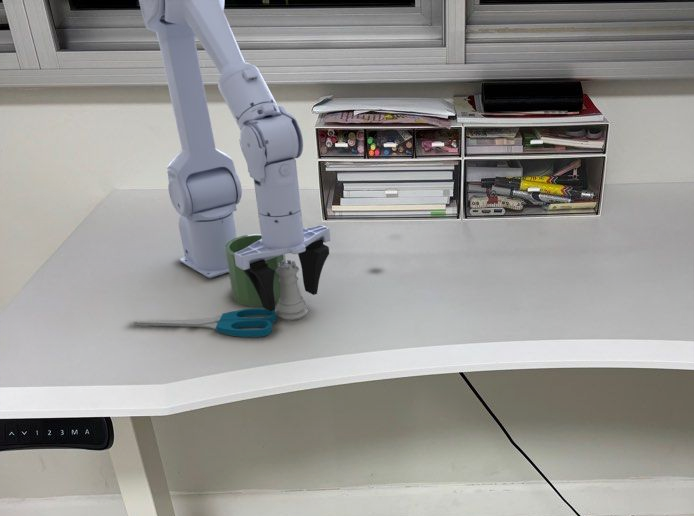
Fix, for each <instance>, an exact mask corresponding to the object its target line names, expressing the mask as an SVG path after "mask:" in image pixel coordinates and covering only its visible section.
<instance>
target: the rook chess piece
mask: <svg viewBox="0 0 694 516" xmlns="http://www.w3.org/2000/svg"><path fill="white" fill-rule="evenodd" d="M299 271H300V268H299V266H298V265H296V261H295V260H291V259H286V263H285V261H284V260H283V261H281V264H280V262H278V267H277V269H276V273H277V274H278V275H279V276H280V278H279V280H278V281H279V282H280V285H281V295H280V298H279V302H277V303H276V310H277V311H276V316H277V317H279V318H280V319H281V320H285V321H291V322H292V321H298V320H301V319H303V318H304V317H305V316H306V315H307V313H308V311H309V310H308V308H307V306H308V305H307V302H306V300H305V299H304V298H303V296H302V295H301V293H300V289H299V284H298V281H299V277H298V276H297V274H298V272H299Z"/></svg>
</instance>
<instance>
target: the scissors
mask: <svg viewBox="0 0 694 516" xmlns="http://www.w3.org/2000/svg"><path fill="white" fill-rule="evenodd" d="M250 316H252V317H250ZM253 316H255V317H253ZM256 316H263V317H256ZM264 316H265V317H264ZM277 317H278V316H277V311H276V309H275V310H274V311H269V310H267V309H265V308H264V307H258V308H257V307H256V308H242V309H237V310H232V311H228V312H224V313H222V314H221V315H219V316H213V317H207V318H192V319H191V318H190V319H189V318H188V319H187V318H186V319H169V320H166V319H165V320H145V321H144V320H141V321H140V320H139V321H133V325H134V326H164V327H165V326H168V327H169V326H171V327H200V328H210V329H214V330H215V331H216V332H217V333H221V334H224V335H228V336H234V337H243V338H244V337H245V338H246V337H247V338H257V337H258V338H259V337H265V336H268V335H270V334H271V333H272V332H273V325H272V324H273V323H275V322H276V321H277V319H278V318H277ZM250 328H251V329H250Z"/></svg>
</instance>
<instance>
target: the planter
mask: <svg viewBox="0 0 694 516" xmlns="http://www.w3.org/2000/svg"><path fill="white" fill-rule="evenodd" d="M260 239H262V237H261V233H253V234H251V233H250V234H246V235H241V236H237V238H234V239H232V240H231V241H229V242H228V243H227V244H226V246H225V253H226V259H227V265H228V271H229V272H228V277H229V282H230V288H231V292H232V298H233V300H234V301H235V302H236V303H237V304H240V305H242V306H245V307H246V306H248V307H263V305H262V303H261V300H260V298H259V295H258V293H257V291H256V289H255V287H254V285H253V284H252V282H251V281H250V279H249V278H248V276H247V275H246V273H245V272H244V271H243V270H242V269H240V268H239V267H237V266H236V263H235V257H234V253H235V252H238V251H241V250H243V249H245V248H246V247H248V246H250V245H252V244H253V243H255V242H257V241H258V240H260ZM283 260H284V261H285V263H287V257H286V254H283V255H280V256H278V257H275V258H272V259H269V260H266V261H265V263H266V264H268V267H269V268H271V269H273V270H274V271H275V274H274V283H273V291H274V299H275V304H277V303H278V302H279V298H280V295H281V285H280V282H279V281H278V280H279V278H280V276H279V275H278V274H277V273H276V269H277V267H278V262H280V264H281V261H283Z"/></svg>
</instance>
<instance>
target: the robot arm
mask: <svg viewBox="0 0 694 516" xmlns="http://www.w3.org/2000/svg"><path fill="white" fill-rule="evenodd" d="M138 3H139V7H140V12H141V16H142V20H143V21H144V27H145V28H146V30H149V31H152V32H155V33H156V36H157V40H158V45H159V49H160V54H161V59H162V63H163V68H164V73H165V76H166V77H165V78H166V83H167V86H168V91H169V96H170V101H171V104H172V106H171V107H172V110H173V115H174V120H175V125H176V129H177V134H178V139H179V143H180V147H181V149H180V152H178V153H177V155H176V156H175V157H174V158H173V159H172V160H171V161H170V162H169V164H168V165H167V166H166V169H167V170H166V174H167V178H168V179H167V180H168V185H167V189H168V195H169V198H170V201H171V204H172V206H173V208H174V210H175V211H176V212H177V213H178V214H179V217H178V229H179V234H180V240H181V244H182V250H183V255H184V256H183V257H181V258H179V262H181V263H182V264H184V265H185V266H187V267H189V268H191V269H192V270H194V271H196V273H197V272H198V273H199V274H201V275H202V276H205V277H206V278H208V279H212V278H215V277H216V278H217V277H218V276H222V275H224V274H227V273H229V271H228V265H227V259H226V253H225V246H226V244H227V243H228V242H229V241H231V240H232V239H234V238H237V237H238V236H237V229H236V224H235V218H234V212H236V211H237V205H239V204H240V203H241V199H242V196H243V195H242V194H243V189H242V188H243V187H242V184H241V181H240V180H241V179H240V177H239V175H238V173H237V170H236V167H235V163H234V160H233V158H231V157H230V156H229V155H228V154H227V153H225V152H223V151H221V150H219V149H217V148H216V142H215V138H214V133H213V128H212V122H211V117H210V112H209V111H210V110H209V106H208V101H207V97H206V90H205V85H204V79H203V73H202V70H201V65H200V59H199V54H198V48H197V43H196V38H197V39H198V41H199V43H200V44H201V46H202V48H203V49H204V51H205V52H206V54H207V55H208V57H209V58H210V59H211V61H212V63H213V65H214V66H215V68H216V70H217V71H218V73H220V76H219V79H218V82H217V88H218V90H219V93H220V94H221V96H222V98H223V100H224V102H225V103H226V105H227V107H228V109H229V111H230V113H231V115H232V117H233V119H234V121H235V122H236V124H237V126H238V128H239V131H240V133H239V140H238V141H239V145H240V149H241V152H242V155H243V157H244V159H245V162H246V167H247V172H248V174H249V177H250V178H252V179H253V184H254V193H255V200H256V207H257V208H256V209H257V214H258V222H259V228H260V234H261V237H262V239H260V240H258V241H257V242H255V243H253V244H252V245H250V246H248V247H246V248H245V249H243V250H241V251H238V252H235V253H234V257H235V263H236V266H237V267H239V268H240V269H242V270H243V271H244V272H245V273H246V275H247V276H248V278H249V279H250V281H251V282H252V284H253V285H254V287H255V289H256V291H257V293H258V295H259V298H260V300H261V303H262V305H263V306H262V308H265V309H267V310H269V311H274V310H275V311H276V303H275V299H274V291H273V283H274V274H275V271H274V270H273V269H271V268H269V267H268V264H266V263H265V261H266V260H269V259H272V258H275V257H278V256H280V255H283V254H285V255H289V254H292V255H297V256H298V259H299V262H300V267H301V274H302V281H303V288H304V290H305V292H307V293H309V294H311V295H313V296H315V295H317V294H318V290H319V284H320V279H321V274H322V271H323V268H324V265H325V263H326V261H327V259H328V257H329V255H330V247H329V246H328V245H326V244H324V243H328V242H331V231H330V228H329V227H327V226H325V225H323V224H319V225H314V226H310V227H309V226H308V227H304V225H303V215H302V206H301V196H300V186H299V177H298V169H297V168H298V167H297V160H296V159H299V158H300V157H301V155H302V154H303V150H304V139H303V133H302V130H301V127H300V125H299V122H298V120H297V119H296V117H295V116H294V115H293V114H292V113H291V112H289V111H287V110H286V109H285V107H284V106H283V105H278V104H277V102H276V99H275V97H274V95H273V94H272V92H271V91H270V88H269V86H268V84H267V83H266V80H265V79H264V77H263V75H262V73H261V71H260V70H259V68H258V67H257V66H256V65H254V64H252V63H250V62H247V61H245V58H244V56H243V54H242V51H241V50H240V46H239V44H238V42H237V40H236V37H235V35H234V33H233V30H232V28H231V25H230V23H229V21H228V19H227V16H226V14H225V11H224V10H225V0H138Z"/></svg>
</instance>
